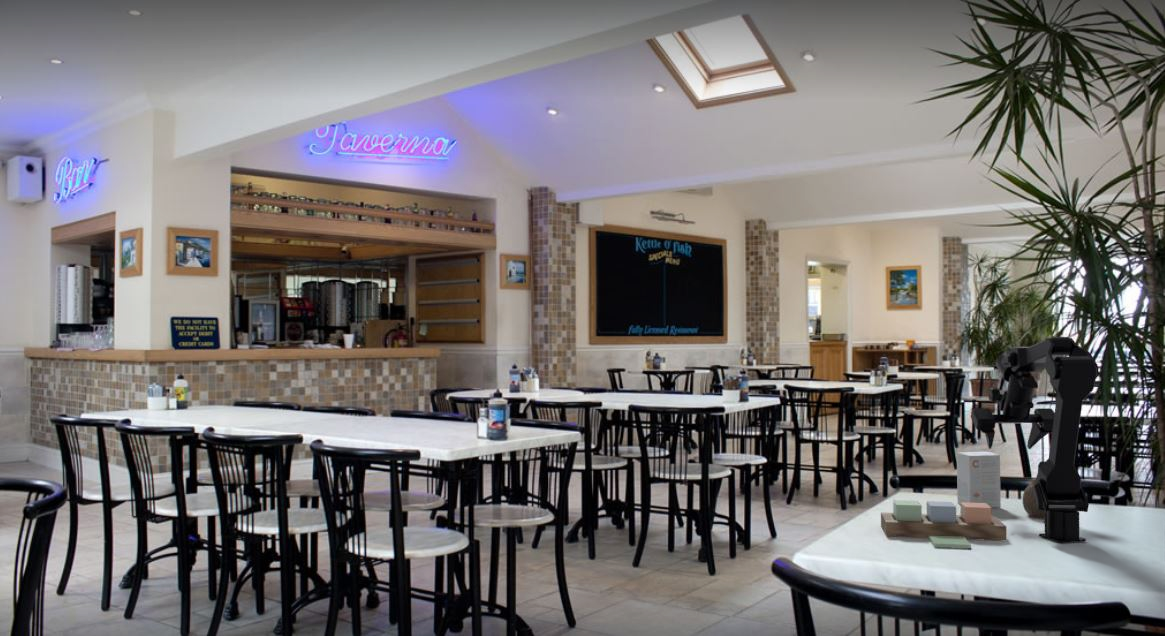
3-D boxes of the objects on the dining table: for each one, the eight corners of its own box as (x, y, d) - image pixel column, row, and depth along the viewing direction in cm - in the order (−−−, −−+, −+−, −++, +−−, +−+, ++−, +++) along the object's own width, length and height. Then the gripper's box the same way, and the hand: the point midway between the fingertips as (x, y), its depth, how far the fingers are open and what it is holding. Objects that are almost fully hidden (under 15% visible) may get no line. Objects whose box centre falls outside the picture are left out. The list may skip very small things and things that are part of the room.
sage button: (918, 519, 204) (918, 500, 204) (921, 524, 199) (921, 505, 199) (893, 518, 205) (893, 500, 205) (896, 523, 200) (896, 504, 200)
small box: (986, 502, 233) (986, 451, 233) (1001, 507, 227) (1000, 454, 227) (956, 503, 232) (956, 451, 232) (970, 509, 226) (969, 455, 226)
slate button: (951, 520, 202) (951, 501, 202) (956, 525, 197) (956, 506, 197) (926, 519, 204) (926, 501, 204) (930, 524, 198) (930, 505, 198)
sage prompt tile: (964, 540, 193) (964, 536, 193) (971, 548, 187) (971, 544, 187) (928, 539, 195) (928, 535, 195) (934, 547, 188) (934, 543, 188)
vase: (1061, 519, 213) (1060, 481, 213) (1030, 519, 214) (1030, 481, 214) (1046, 513, 220) (1046, 476, 220) (1017, 513, 220) (1017, 476, 220)
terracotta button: (986, 521, 201) (986, 503, 201) (991, 526, 196) (991, 507, 196) (960, 520, 202) (960, 502, 202) (965, 525, 197) (965, 507, 197)
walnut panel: (995, 530, 203) (995, 516, 203) (1006, 540, 193) (1006, 526, 193) (880, 525, 208) (880, 512, 208) (886, 536, 198) (885, 521, 198)
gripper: (1049, 375, 224) (1037, 428, 231) (969, 375, 226) (960, 428, 233) (1066, 401, 214) (1053, 455, 222) (982, 401, 216) (972, 455, 224)
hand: (1008, 447), depth 225 cm, fingers open, 9 cm apart
